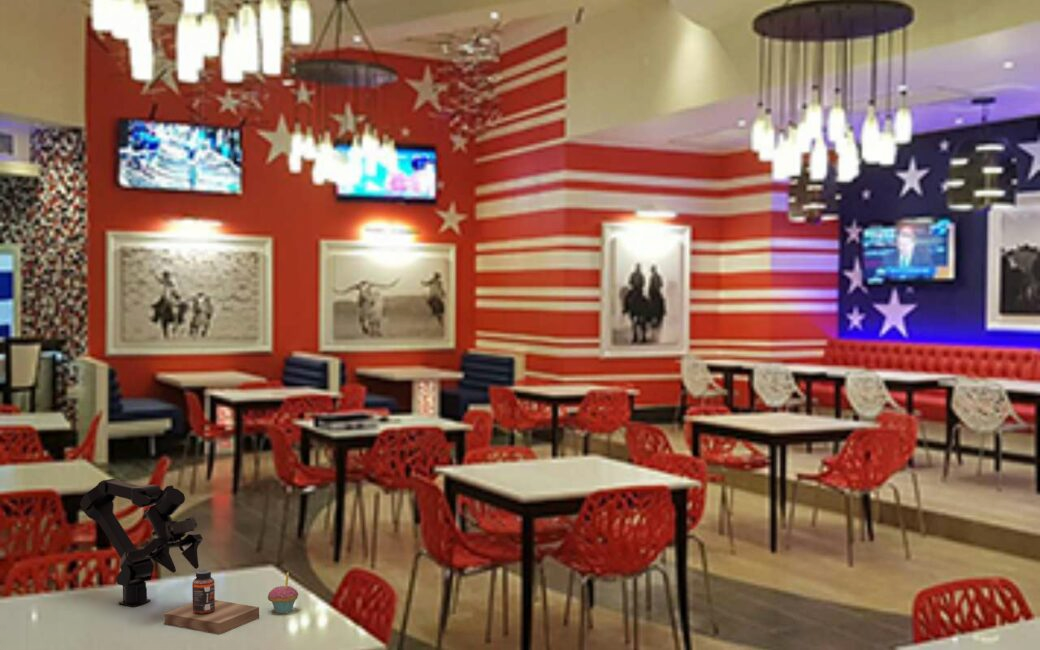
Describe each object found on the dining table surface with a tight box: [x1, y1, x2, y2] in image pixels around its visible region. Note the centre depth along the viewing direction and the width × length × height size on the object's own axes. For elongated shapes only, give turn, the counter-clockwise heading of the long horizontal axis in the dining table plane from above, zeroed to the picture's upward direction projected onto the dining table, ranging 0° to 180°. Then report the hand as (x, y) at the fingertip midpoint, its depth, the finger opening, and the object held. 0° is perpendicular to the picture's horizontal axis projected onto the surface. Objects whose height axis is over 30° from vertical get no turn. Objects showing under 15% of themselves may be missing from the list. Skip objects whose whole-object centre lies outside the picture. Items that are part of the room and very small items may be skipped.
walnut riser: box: [163, 599, 260, 635], centre depth 300 cm, size 20×16×3 cm
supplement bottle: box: [191, 569, 216, 614], centre depth 299 cm, size 6×6×11 cm
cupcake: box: [267, 570, 299, 614], centre depth 309 cm, size 9×8×12 cm
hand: (186, 570), depth 305 cm, fingers open, 9 cm apart
